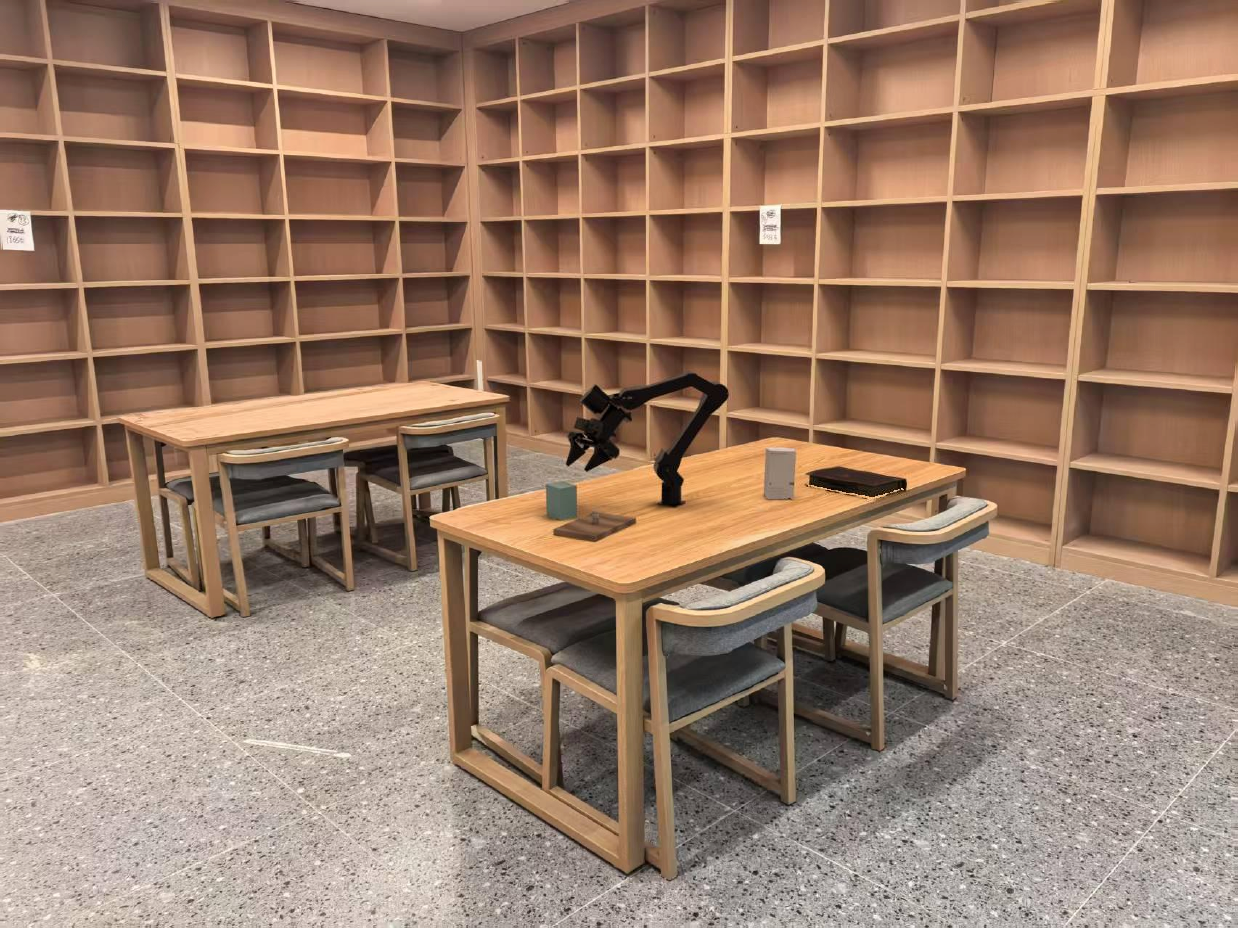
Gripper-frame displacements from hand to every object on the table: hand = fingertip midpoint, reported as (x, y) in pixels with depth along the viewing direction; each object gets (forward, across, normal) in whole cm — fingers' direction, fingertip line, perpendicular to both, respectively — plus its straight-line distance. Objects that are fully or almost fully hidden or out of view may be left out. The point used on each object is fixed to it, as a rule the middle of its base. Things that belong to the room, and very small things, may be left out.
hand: (575, 468), depth 258 cm
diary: (-50, +29, +69) cm, 90 cm away
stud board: (+13, +16, +6) cm, 21 cm away
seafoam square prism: (+13, 0, +6) cm, 14 cm away
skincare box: (-32, +22, +50) cm, 63 cm away
